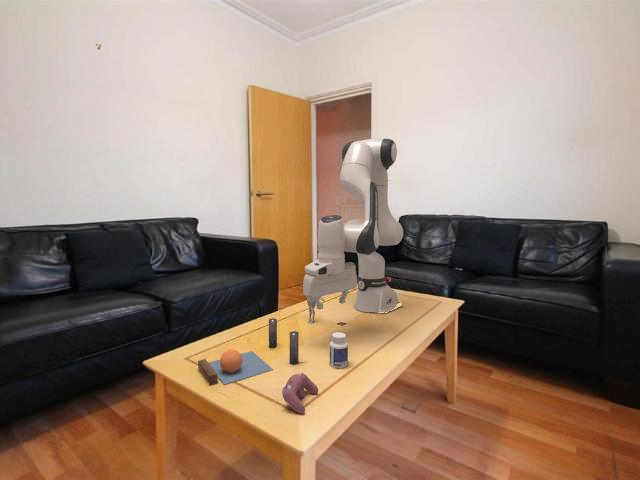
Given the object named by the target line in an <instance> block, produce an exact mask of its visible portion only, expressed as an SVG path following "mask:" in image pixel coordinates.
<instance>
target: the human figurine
mask: <svg viewBox="0 0 640 480" xmlns="http://www.w3.org/2000/svg"><path fill="white" fill-rule="evenodd" d="M303 295H304V293H303V292H302V293H301V295H300V296H303ZM304 296H305V295H304ZM306 298H307V299H306V301H307V302H306V303H307V305H308V312H309V313H308V314H309V315H308V316H309V320H308V321H307V322H306V323H308V324H310V325H311V324H314V323H315V314H316V312H315V311H316V310H315V308H316V305H317V303H316V302H315V300H314V299H313V298H312V299H310V298H308V297H306ZM320 301H322V302H325V301H326V300H325V299H324V298H323V296H321V299H320Z"/></svg>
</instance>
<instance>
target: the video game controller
mask: <svg viewBox="0 0 640 480" xmlns="http://www.w3.org/2000/svg"><path fill="white" fill-rule="evenodd" d="M305 390H306V391H307V392H309V393H311V394H314V395H317V394H318V393H319V388H318V386H317V385H316V383H315V382H313V381H312V380H311V379H310V378H309V376H308V375H307V374H305V373H304V372H301V373H300V372H298V373H295V374H292V375H291V376H290V377H289V378H288V380H287V381H286V383H285V386H283V389H282V392H281V395H282V398H283V400H284V401H285V402H286V403H287V404H288V406H290V407H291V409H293V410H294V411H295V412H296V413H298V414H301V415H303V414H304V413H305V412H306V407H305V405H304V404H303V402H302V401H301V400H300V399H301V398H304V397H305V396H306V395H305V394H306V391H305Z"/></svg>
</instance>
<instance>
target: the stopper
mask: <svg viewBox="0 0 640 480" xmlns="http://www.w3.org/2000/svg"><path fill="white" fill-rule="evenodd" d="M208 362H209V361H208V360H207V359H206V358H203V359H200V360H197V365H198V366H197V367H198V368H197V370H198V369H199V370H198V372H200V374H201V375H202V376H203V377H202V378H204V379H205V381H206V382H207V384H208V385H209V386H212V385H215V384H218V382H219V381H218V380H219V378H218V377H217V373H216V371H215V370H214V369H213V368H212V367H211V365H210V364H209V363H208Z"/></svg>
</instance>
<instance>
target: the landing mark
mask: <svg viewBox="0 0 640 480" xmlns="http://www.w3.org/2000/svg"><path fill="white" fill-rule="evenodd" d="M240 354H241V356H242V365H241V367H240V368H239V369H238V370H237V371H235V372H232V373H229V372H226V371H224V370H223V369H222V368H221V366H220V359H217V360H213V361H210V362H209V361H207V362H208V363H209V364H210V365H211V367H212V368H213V369H214V370H215V371H216V373H217V377H218V380H220V382H221V383H222V385H223V386H226V385H229V384H233V383H235V382H238V381H242V380H246V379H249V378H252V377H256V376H258V375H261V374H264V373H267V372H271V371H274V369H273V368H272V366H270V365H269V364H268V363H267V362H266V361H264V359H262V358H261V357H260V356H259V355H257V354H256V353H255V352H254V351H253V350H250V351H247V352H244V353H240Z"/></svg>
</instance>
